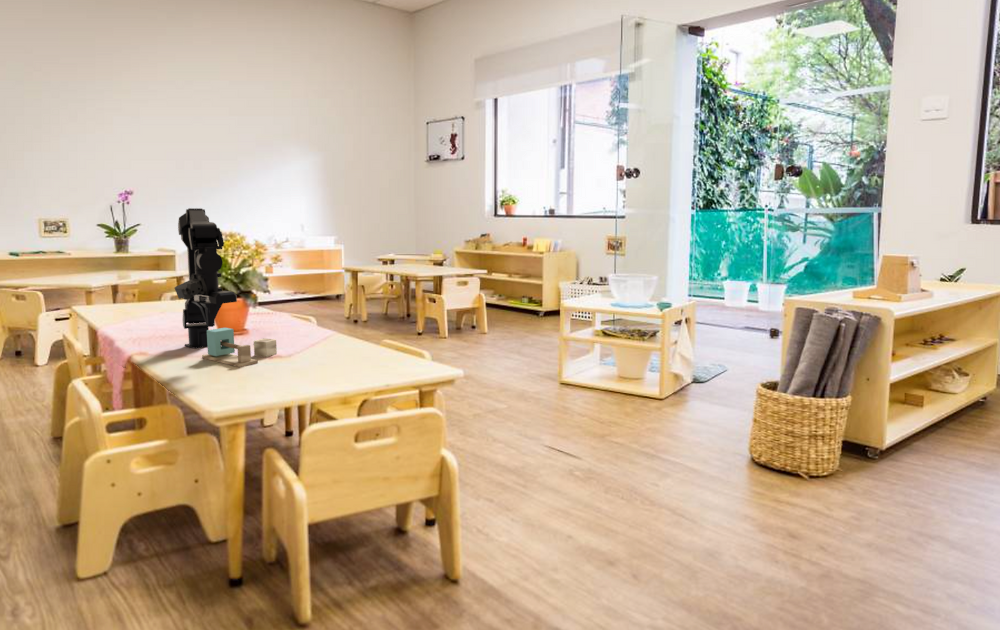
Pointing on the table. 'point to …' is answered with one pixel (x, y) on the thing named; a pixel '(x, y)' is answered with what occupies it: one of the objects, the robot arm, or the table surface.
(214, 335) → the bead
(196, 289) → the robot arm
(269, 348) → the maple cube
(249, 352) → the rail
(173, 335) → the table surface
